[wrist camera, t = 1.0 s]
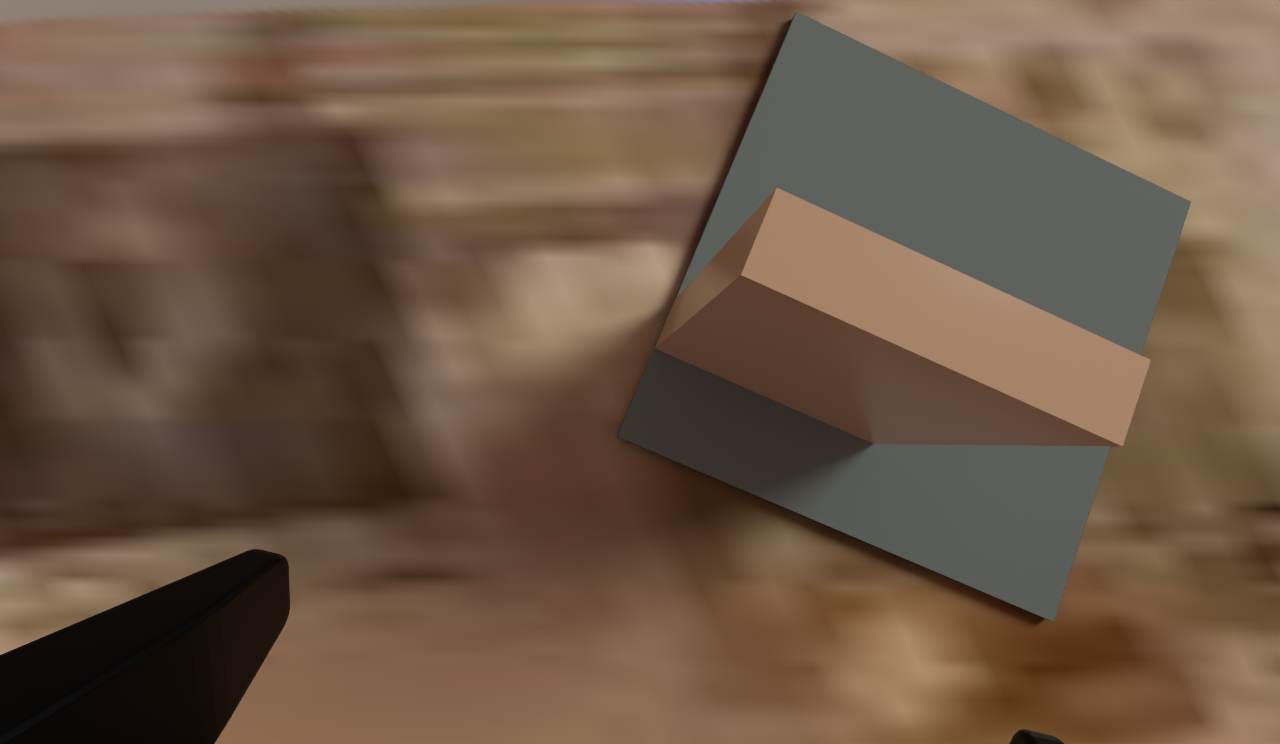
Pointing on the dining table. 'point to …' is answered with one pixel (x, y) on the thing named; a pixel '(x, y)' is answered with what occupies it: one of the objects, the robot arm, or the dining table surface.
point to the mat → (952, 235)
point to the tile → (894, 340)
